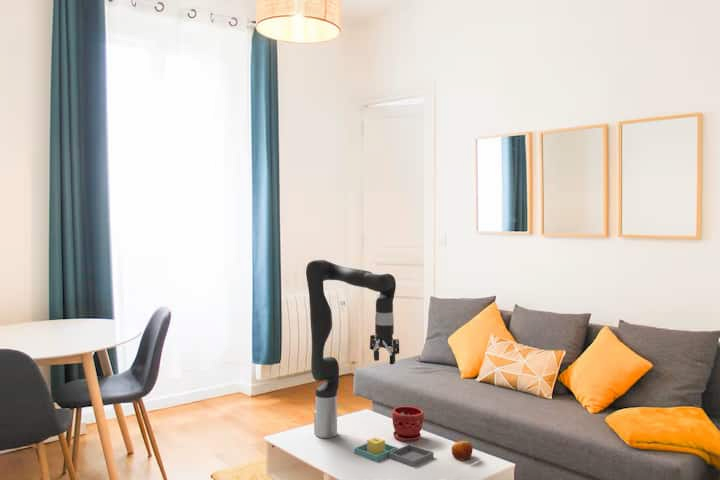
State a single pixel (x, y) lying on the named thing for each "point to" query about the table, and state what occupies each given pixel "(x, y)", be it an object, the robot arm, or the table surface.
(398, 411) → the plant pot
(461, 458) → the fruit
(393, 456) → the tray
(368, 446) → the marked block
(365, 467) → the table surface
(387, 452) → the tray
